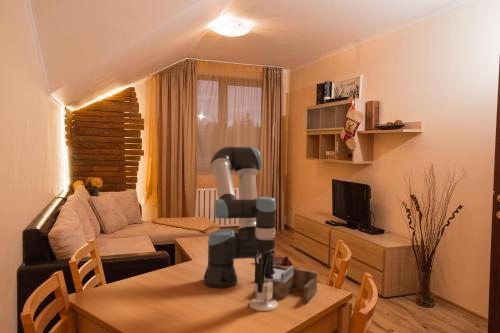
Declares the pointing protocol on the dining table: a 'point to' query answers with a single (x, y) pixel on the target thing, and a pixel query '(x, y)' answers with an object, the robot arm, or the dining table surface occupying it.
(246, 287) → the dining table surface
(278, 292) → the wooden frame
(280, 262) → the toy fire truck
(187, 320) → the dining table surface
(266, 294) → the block
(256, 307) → the dish
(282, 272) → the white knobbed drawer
